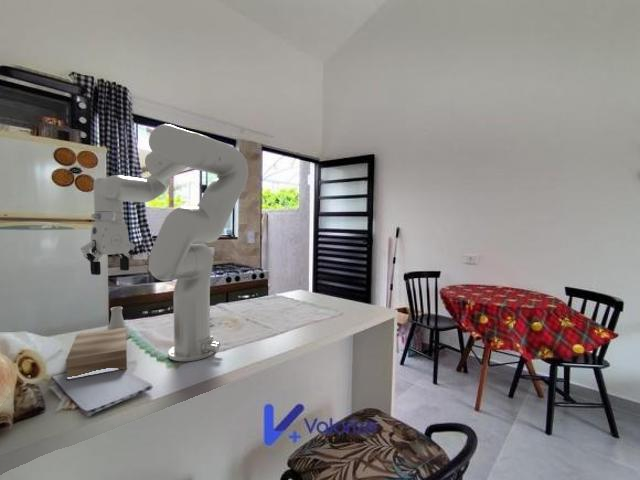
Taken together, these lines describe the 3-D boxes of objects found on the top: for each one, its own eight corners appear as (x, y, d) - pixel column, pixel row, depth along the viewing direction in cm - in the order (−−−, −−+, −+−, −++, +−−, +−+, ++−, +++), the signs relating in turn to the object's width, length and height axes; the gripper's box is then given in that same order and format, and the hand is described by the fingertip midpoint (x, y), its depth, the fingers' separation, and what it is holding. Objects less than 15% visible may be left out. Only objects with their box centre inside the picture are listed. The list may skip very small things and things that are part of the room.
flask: (117, 344, 98) (116, 311, 97) (97, 342, 99) (96, 310, 99) (135, 336, 105) (135, 305, 104) (116, 334, 106) (116, 304, 106)
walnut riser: (77, 351, 92) (77, 333, 92) (126, 343, 98) (126, 327, 98) (66, 380, 75) (66, 359, 75) (126, 368, 81) (126, 349, 81)
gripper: (90, 217, 91) (92, 277, 92) (141, 218, 108) (143, 269, 108) (71, 217, 94) (73, 275, 94) (124, 218, 110) (126, 268, 111)
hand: (110, 272), depth 101 cm, fingers open, 9 cm apart
